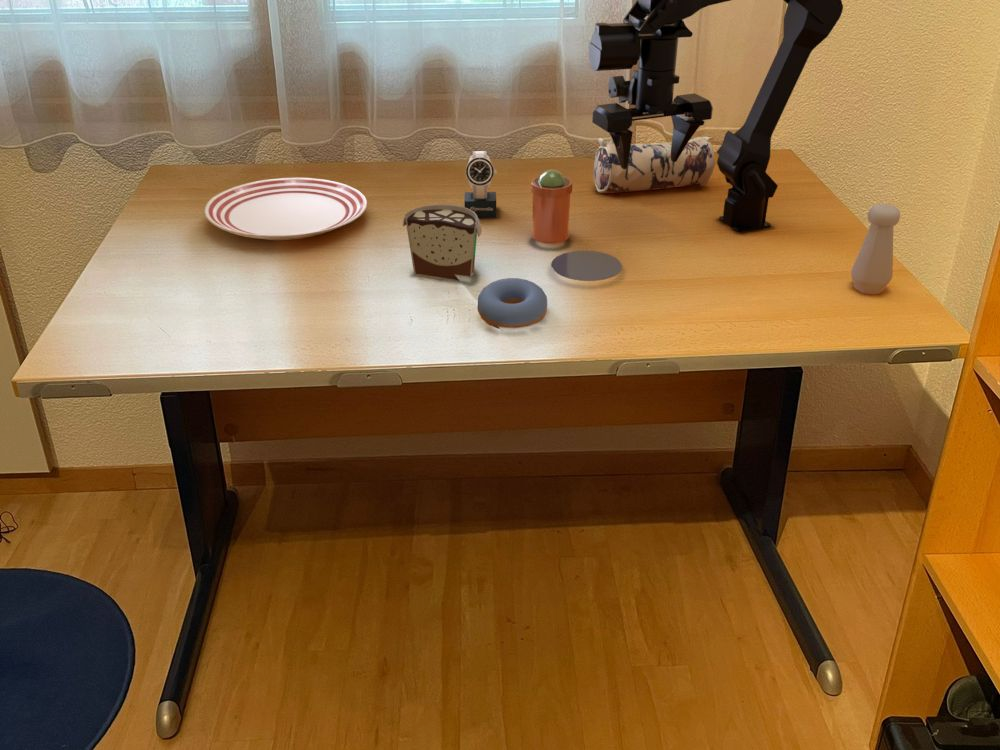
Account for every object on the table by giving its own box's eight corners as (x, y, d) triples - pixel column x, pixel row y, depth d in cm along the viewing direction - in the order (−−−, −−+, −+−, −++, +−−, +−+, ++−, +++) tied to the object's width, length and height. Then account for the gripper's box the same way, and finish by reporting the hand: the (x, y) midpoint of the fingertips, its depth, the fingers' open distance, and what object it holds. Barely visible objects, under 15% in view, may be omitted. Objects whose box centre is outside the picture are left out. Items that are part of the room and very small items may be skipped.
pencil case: (602, 200, 178) (605, 148, 173) (589, 184, 185) (592, 133, 180) (716, 191, 182) (722, 140, 176) (699, 176, 189) (704, 125, 184)
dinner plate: (327, 181, 187) (326, 164, 185) (395, 229, 168) (394, 210, 166) (185, 212, 174) (182, 194, 173) (241, 267, 155) (238, 248, 153)
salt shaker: (891, 298, 145) (909, 216, 138) (850, 295, 146) (867, 213, 139) (885, 281, 149) (903, 200, 143) (846, 278, 150) (862, 198, 144)
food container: (493, 268, 154) (493, 208, 149) (480, 285, 149) (479, 223, 144) (421, 258, 157) (418, 199, 152) (405, 273, 153) (401, 213, 147)
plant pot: (568, 234, 165) (571, 163, 159) (571, 250, 160) (574, 177, 153) (529, 234, 165) (530, 163, 159) (531, 250, 160) (532, 177, 153)
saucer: (601, 252, 159) (601, 245, 158) (634, 280, 150) (635, 273, 150) (539, 263, 155) (539, 257, 155) (569, 293, 147) (569, 285, 146)
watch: (464, 222, 170) (463, 161, 164) (465, 205, 177) (463, 145, 171) (497, 222, 170) (496, 160, 164) (496, 204, 177) (495, 145, 171)
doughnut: (524, 341, 134) (524, 312, 132) (463, 323, 139) (462, 294, 136) (559, 312, 141) (560, 284, 139) (501, 296, 146) (500, 268, 144)
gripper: (681, 49, 160) (673, 143, 168) (578, 60, 154) (574, 156, 162) (719, 65, 151) (708, 163, 160) (612, 78, 145) (606, 178, 154)
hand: (648, 164), depth 159 cm, fingers open, 9 cm apart
